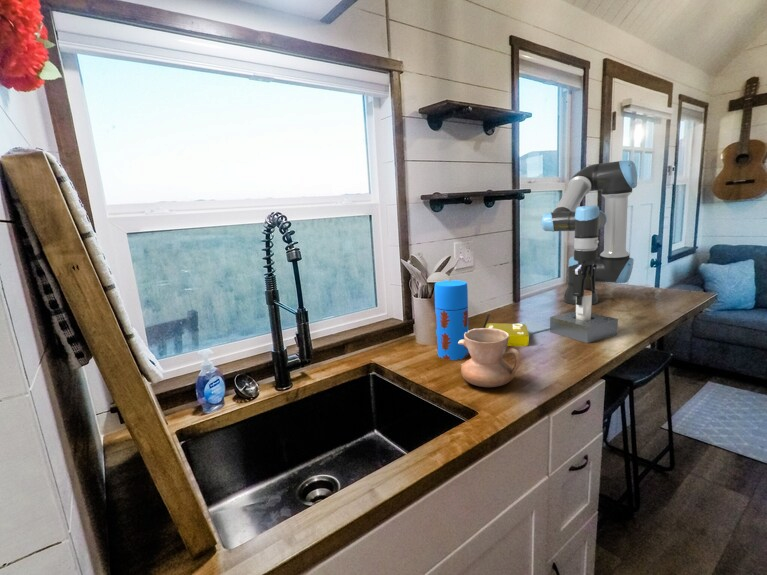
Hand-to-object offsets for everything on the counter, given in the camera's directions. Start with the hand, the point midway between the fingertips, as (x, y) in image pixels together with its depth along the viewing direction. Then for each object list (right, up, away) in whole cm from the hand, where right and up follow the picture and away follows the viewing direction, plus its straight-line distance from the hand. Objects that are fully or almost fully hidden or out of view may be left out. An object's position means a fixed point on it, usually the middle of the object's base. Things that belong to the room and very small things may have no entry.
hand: (583, 311), depth 142 cm
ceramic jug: (-45, -18, -33) cm, 58 cm away
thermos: (-51, -14, -11) cm, 54 cm away
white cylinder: (+1, -7, +1) cm, 7 cm away
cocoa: (-41, -12, -4) cm, 43 cm away
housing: (0, -8, +1) cm, 8 cm away
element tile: (-29, -11, +1) cm, 31 cm away
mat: (-16, -7, +11) cm, 21 cm away
